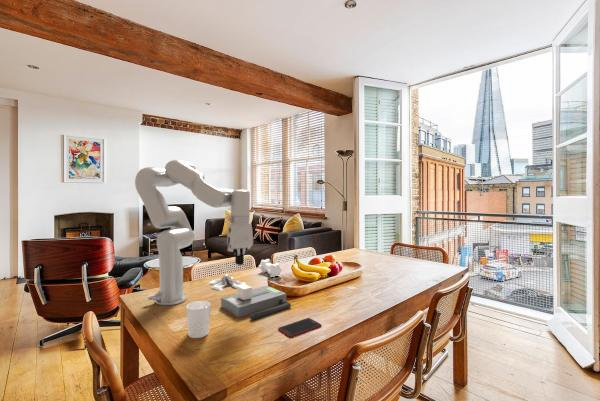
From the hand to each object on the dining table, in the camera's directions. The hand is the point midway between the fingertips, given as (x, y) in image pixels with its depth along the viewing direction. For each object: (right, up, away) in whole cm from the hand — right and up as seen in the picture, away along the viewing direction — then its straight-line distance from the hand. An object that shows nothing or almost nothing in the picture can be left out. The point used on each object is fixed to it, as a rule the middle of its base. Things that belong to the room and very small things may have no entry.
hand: (239, 264), depth 123 cm
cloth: (-13, -18, +33) cm, 40 cm away
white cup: (-10, -20, -21) cm, 30 cm away
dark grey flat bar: (+12, -19, -2) cm, 22 cm away
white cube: (+2, -14, +2) cm, 15 cm away
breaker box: (+5, -19, +6) cm, 20 cm away
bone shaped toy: (+8, -17, +51) cm, 54 cm away
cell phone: (+25, -20, -16) cm, 36 cm away
